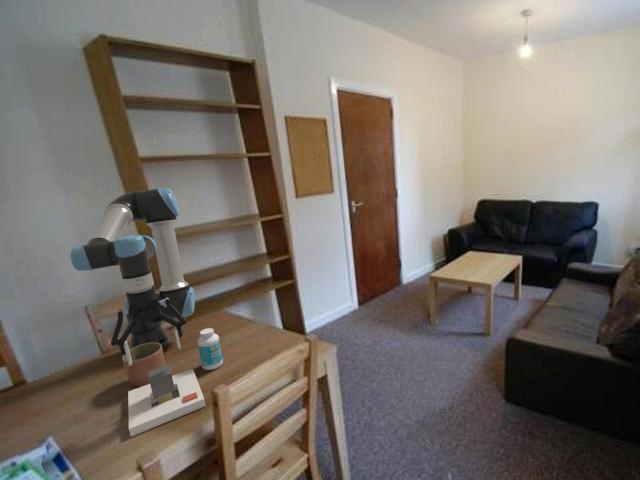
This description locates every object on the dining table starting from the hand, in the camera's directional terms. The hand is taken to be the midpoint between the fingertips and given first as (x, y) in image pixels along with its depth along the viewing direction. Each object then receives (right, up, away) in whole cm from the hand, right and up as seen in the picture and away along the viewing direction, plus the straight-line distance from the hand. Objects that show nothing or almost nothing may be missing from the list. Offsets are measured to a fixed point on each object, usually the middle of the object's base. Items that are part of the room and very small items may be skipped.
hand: (155, 355), depth 103 cm
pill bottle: (+11, -11, +21) cm, 26 cm away
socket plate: (+2, -16, +3) cm, 16 cm away
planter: (-10, -14, +17) cm, 24 cm away
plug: (+2, -15, +3) cm, 16 cm away
